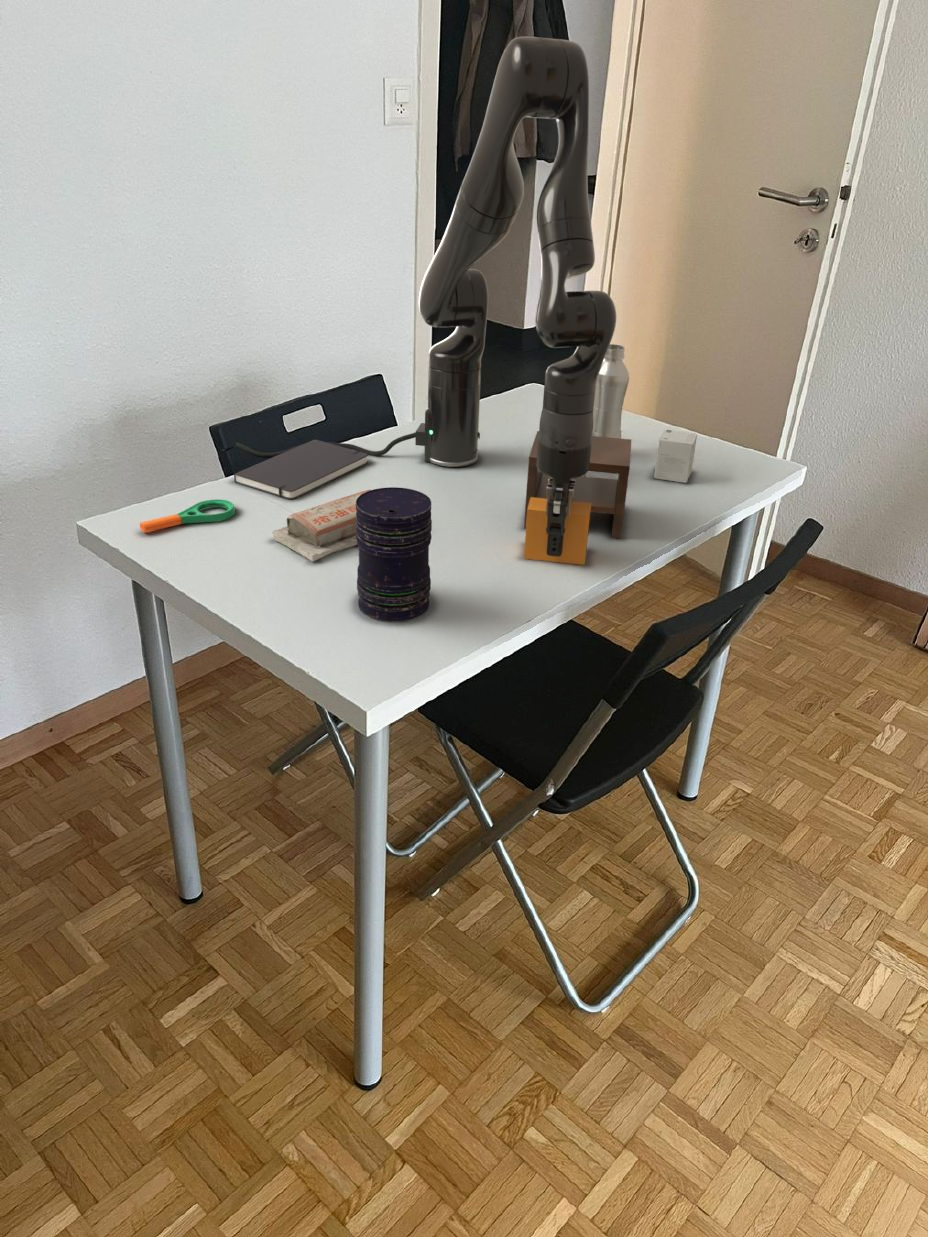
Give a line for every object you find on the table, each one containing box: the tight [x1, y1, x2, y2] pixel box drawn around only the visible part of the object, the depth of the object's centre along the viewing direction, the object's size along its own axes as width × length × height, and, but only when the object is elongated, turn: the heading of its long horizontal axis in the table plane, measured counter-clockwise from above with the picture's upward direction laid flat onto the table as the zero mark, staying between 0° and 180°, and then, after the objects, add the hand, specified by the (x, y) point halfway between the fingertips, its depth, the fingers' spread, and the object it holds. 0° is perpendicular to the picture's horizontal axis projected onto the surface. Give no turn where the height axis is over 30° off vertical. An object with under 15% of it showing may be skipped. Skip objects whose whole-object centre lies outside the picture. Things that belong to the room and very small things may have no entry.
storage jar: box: [356, 486, 433, 623], centre depth 128 cm, size 10×10×15 cm
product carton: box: [653, 429, 698, 484], centre depth 174 cm, size 6×6×7 cm
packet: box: [523, 497, 592, 566], centre depth 144 cm, size 9×5×8 cm, turn 80°
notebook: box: [233, 439, 369, 500], centre depth 171 cm, size 13×2×21 cm
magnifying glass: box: [139, 498, 235, 534], centre depth 152 cm, size 15×6×2 cm, turn 131°
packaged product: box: [272, 489, 371, 563], centre depth 149 cm, size 18×5×10 cm
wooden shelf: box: [523, 430, 632, 540], centre depth 155 cm, size 15×12×12 cm
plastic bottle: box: [593, 343, 630, 439], centre depth 179 cm, size 6×7×20 cm
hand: (555, 546), depth 146 cm, fingers closed on packet, 4 cm apart
